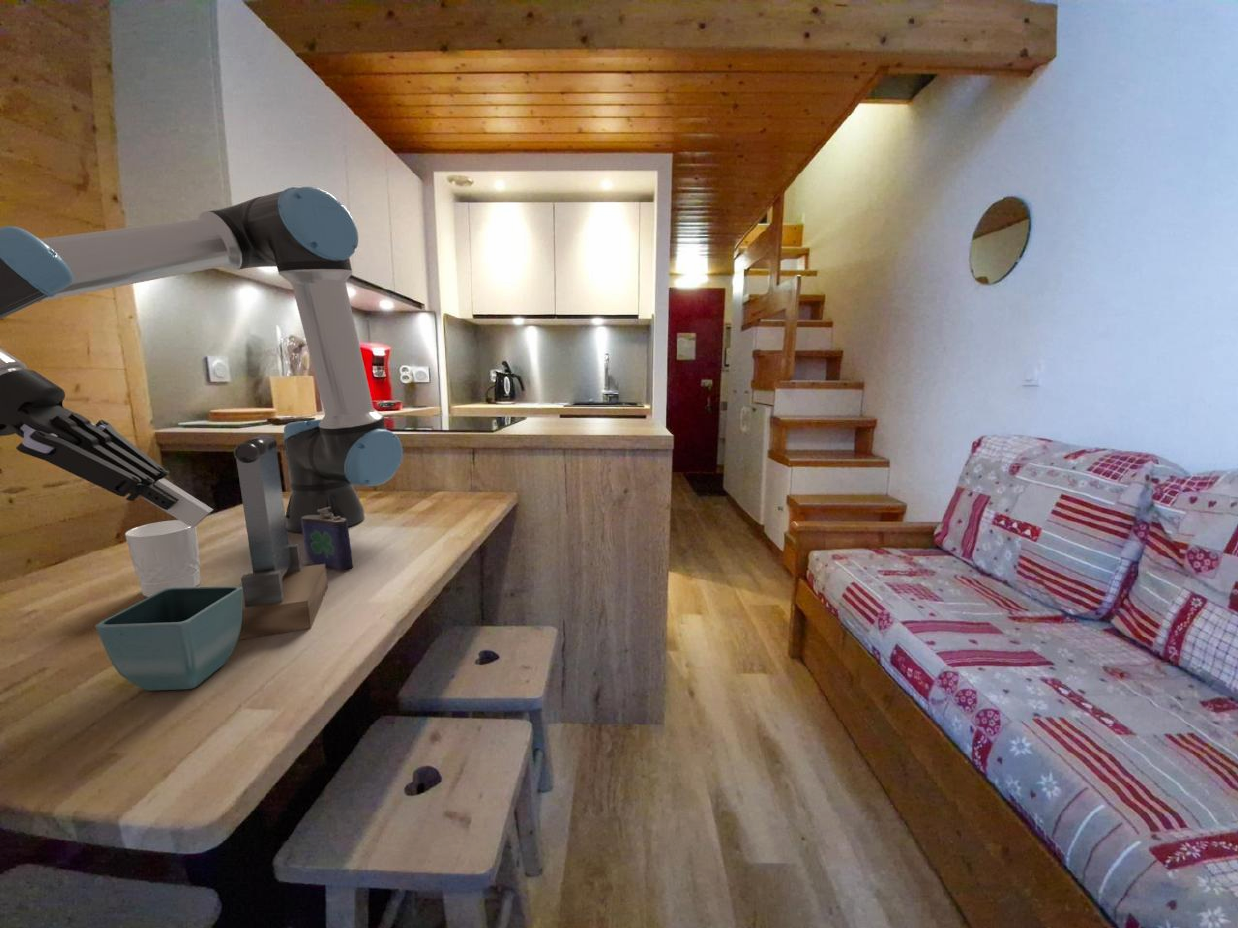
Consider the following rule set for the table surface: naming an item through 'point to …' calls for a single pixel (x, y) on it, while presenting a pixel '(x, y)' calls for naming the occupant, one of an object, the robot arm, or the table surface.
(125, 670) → the flower pot
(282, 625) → the base
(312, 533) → the flask
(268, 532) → the lever
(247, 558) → the table surface
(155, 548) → the white cup
